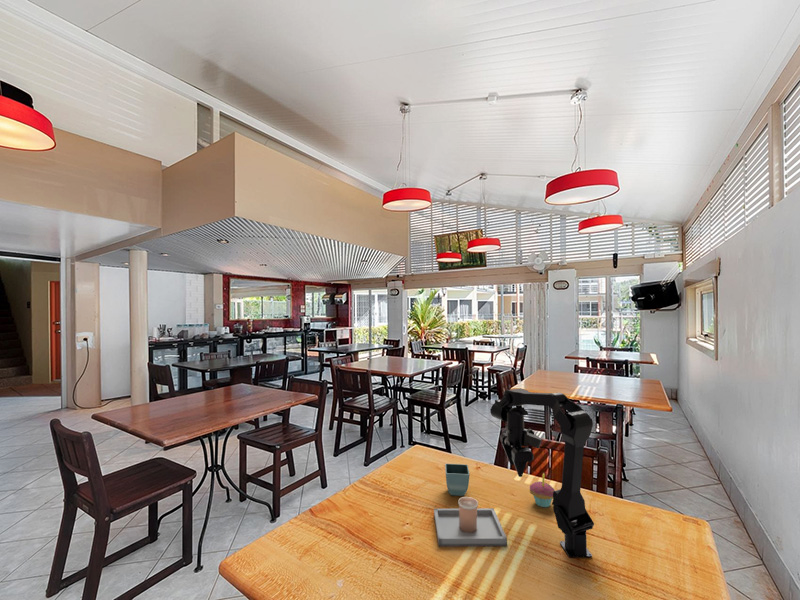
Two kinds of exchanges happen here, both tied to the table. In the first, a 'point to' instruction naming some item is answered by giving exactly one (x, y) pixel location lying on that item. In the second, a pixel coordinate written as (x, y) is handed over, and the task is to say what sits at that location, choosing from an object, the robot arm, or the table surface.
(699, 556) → the table surface
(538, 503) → the cupcake
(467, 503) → the cup
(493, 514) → the tray
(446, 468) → the flower pot
